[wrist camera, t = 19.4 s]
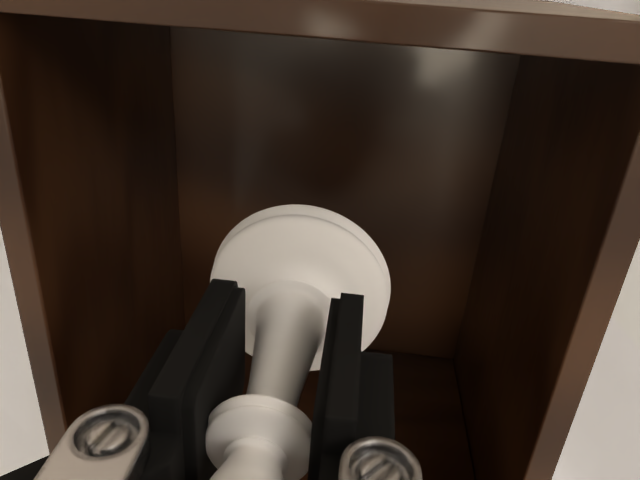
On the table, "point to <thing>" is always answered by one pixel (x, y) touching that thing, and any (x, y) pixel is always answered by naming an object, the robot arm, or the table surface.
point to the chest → (330, 192)
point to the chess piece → (288, 329)
